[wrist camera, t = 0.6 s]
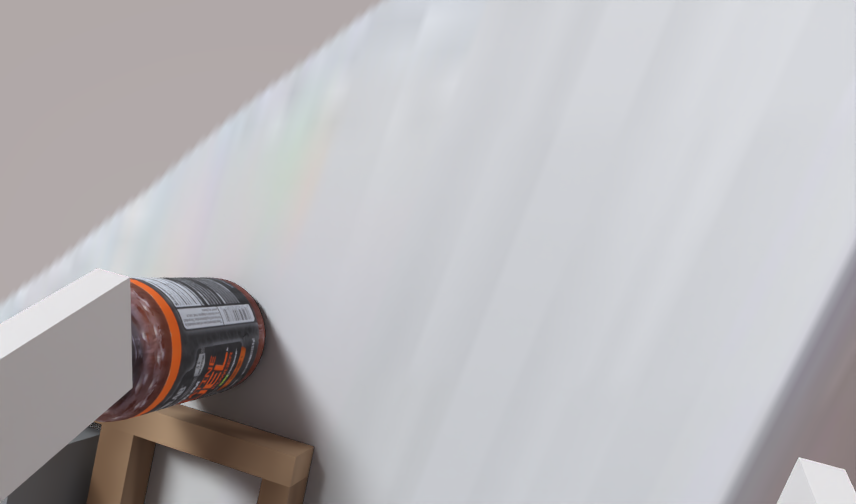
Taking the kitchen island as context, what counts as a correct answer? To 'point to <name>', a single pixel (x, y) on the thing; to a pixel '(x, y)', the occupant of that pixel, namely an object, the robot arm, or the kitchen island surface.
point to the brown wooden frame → (195, 454)
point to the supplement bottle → (187, 342)
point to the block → (61, 475)
